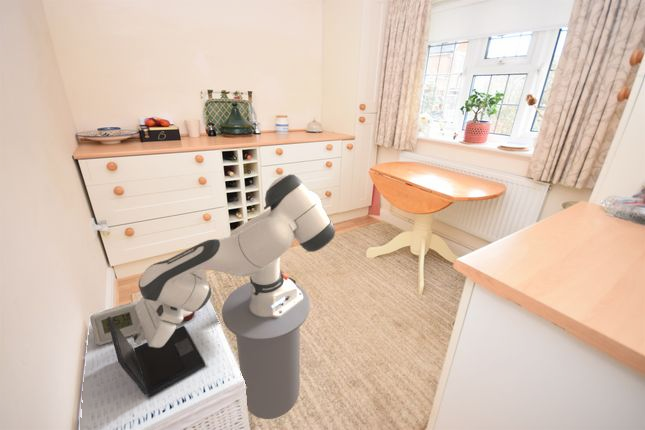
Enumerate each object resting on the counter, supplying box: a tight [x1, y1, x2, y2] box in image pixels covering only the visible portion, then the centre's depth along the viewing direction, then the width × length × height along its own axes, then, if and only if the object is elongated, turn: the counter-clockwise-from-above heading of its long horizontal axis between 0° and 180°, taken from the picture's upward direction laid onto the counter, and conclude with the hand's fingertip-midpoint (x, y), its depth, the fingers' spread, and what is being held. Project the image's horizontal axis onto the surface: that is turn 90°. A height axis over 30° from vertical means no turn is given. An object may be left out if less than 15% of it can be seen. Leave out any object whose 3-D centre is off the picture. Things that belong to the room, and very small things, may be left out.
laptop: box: [133, 325, 206, 398], centre depth 95 cm, size 16×20×2 cm
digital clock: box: [89, 300, 140, 346], centre depth 102 cm, size 16×9×11 cm, turn 110°
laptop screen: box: [107, 316, 149, 396], centre depth 85 cm, size 16×20×1 cm
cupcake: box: [182, 310, 196, 322], centre depth 109 cm, size 10×6×12 cm, turn 133°
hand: (136, 340), depth 86 cm, fingers closed
